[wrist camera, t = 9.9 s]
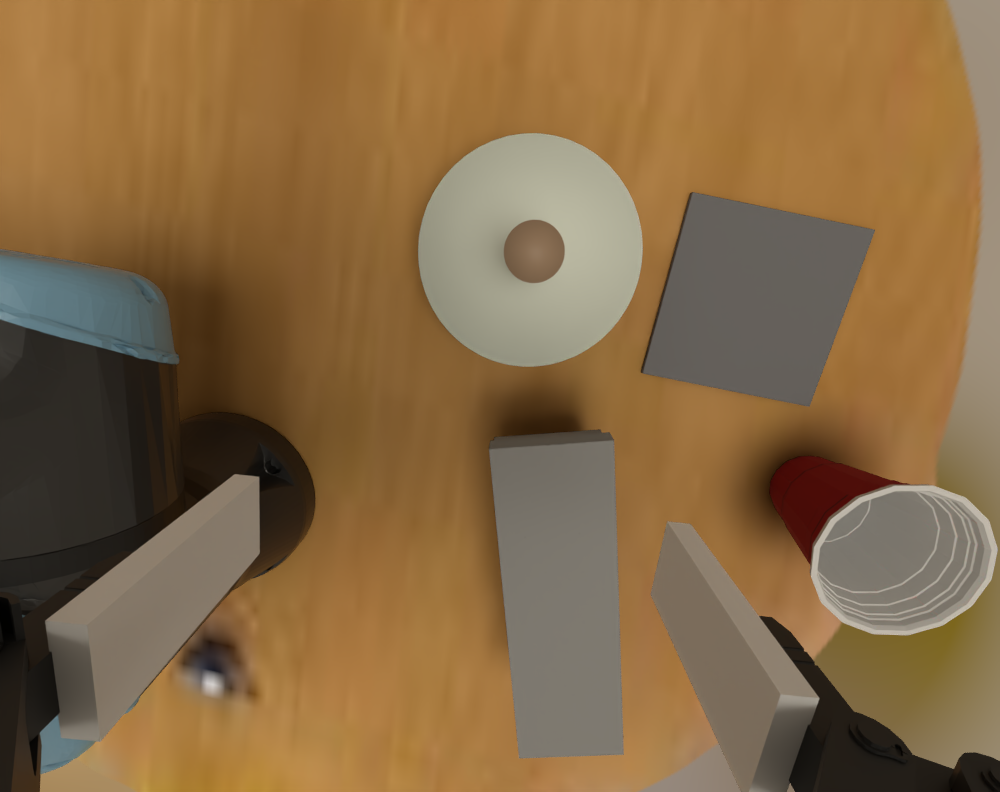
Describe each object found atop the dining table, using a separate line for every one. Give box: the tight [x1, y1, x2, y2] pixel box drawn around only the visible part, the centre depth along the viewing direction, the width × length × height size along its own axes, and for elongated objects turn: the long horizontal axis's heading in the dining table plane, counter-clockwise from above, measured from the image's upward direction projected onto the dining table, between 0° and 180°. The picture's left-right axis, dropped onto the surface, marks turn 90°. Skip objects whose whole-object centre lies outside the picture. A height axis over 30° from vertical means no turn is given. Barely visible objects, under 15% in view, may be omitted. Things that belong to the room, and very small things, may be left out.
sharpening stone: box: [489, 430, 624, 758], centre depth 39 cm, size 25×8×11 cm, turn 5°
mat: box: [641, 192, 875, 406], centre depth 38 cm, size 14×14×1 cm
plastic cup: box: [770, 456, 998, 635], centre depth 37 cm, size 11×11×12 cm
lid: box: [418, 133, 643, 367], centre depth 29 cm, size 15×15×10 cm
